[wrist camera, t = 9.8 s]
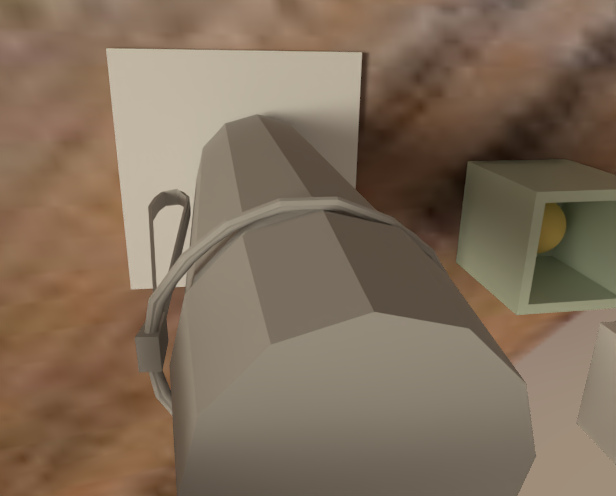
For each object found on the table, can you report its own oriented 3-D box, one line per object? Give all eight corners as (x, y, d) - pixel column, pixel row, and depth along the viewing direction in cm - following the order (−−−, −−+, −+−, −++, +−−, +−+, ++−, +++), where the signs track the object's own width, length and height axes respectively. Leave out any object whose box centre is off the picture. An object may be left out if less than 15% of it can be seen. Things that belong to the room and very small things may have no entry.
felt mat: (107, 48, 30) (106, 48, 29) (359, 52, 32) (362, 52, 32) (132, 286, 35) (131, 289, 34) (349, 274, 37) (351, 277, 36)
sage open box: (467, 161, 36) (536, 191, 28) (566, 159, 37) (657, 188, 29) (456, 262, 38) (516, 314, 31) (548, 257, 39) (628, 307, 32)
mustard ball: (497, 190, 35) (528, 206, 32) (549, 189, 36) (584, 203, 33) (490, 243, 36) (518, 263, 33) (540, 241, 37) (573, 260, 34)
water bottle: (318, 105, 32) (598, 262, 9) (317, 232, 35) (529, 607, 12) (155, 107, 31) (-11, 302, 8) (167, 240, 33) (73, 683, 10)
